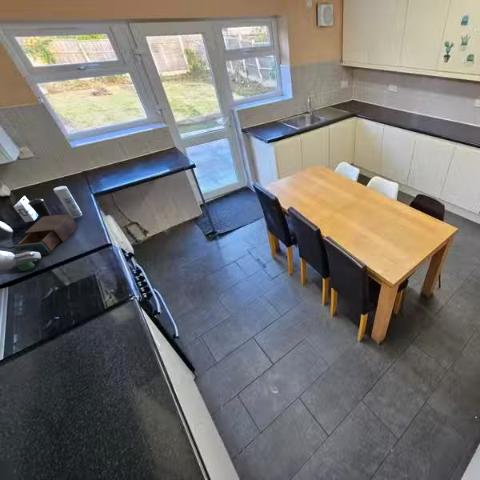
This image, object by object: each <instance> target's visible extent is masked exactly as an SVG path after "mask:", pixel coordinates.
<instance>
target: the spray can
mask: <svg viewBox="0 0 480 480" xmlns="http://www.w3.org/2000/svg"><path fill="white" fill-rule="evenodd" d="M53 191H54V194H55V195H56V196H57V197H58V199H59V201H60V202H61V204H62V205H63V208H64V209H65V210H66V212H67V214H70V215H71V217H72V218H73V219H76V218H80V217H81V216H83V212H82V211H81V209H80V207H79V205H78V203H77V202H76V200H75V199H74V197H73V195H72V194H71V191H70V190H69V189H68V186H66V185H59V186H57V187H55V188H53Z"/></svg>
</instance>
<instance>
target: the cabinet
mask: <svg viewBox="0 0 480 480" xmlns="http://www.w3.org/2000/svg"><path fill="white" fill-rule="evenodd" d="M78 227H79V225H78V224H77V222H76V220H74V218H72V217H71V215H70V214H69V213H64V214H53V215H52V216H43V217H42V218H41V217H40V219H38V220H37V221H36V222H35V223H34V224H33V225H32V226H31V227H29V228H28V229H27V230H26V231H25V232H24V234H25V235H26V236H27V235H28V234H29V233H38V232H47V231H53V232H54V233H55V234H56V235H57V237H58V238H59V239H60V240H61V241H60V242H59V243H58V244H60V243H65V242H66V241H67V240H68V239H69V238H70V237H71V236H72V234H73V233H74V232H75V231H76V230H77V229H78Z"/></svg>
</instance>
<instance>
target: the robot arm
mask: <svg viewBox="0 0 480 480" xmlns="http://www.w3.org/2000/svg"><path fill="white" fill-rule="evenodd" d="M13 234H14V230H13V229H12V227H11V226H9V225H8V224H7V223H6V222H3V221H1V220H0V244H3V243H5V242H8V241H10V240H11V239H12V237H13ZM41 259H42V255H40V253H39V252H24V253H20V254H15V253H13V252H10V251H7V250H6V251H5V250H0V271H7V270H10V269H12V268H14V267H17V265H21V264H24V263H28V262H32V263H34V262H37V261H39V260H41Z"/></svg>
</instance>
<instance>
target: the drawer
mask: <svg viewBox="0 0 480 480" xmlns="http://www.w3.org/2000/svg"><path fill="white" fill-rule="evenodd" d="M60 241H61V240H60V239H59V238H58V237H57V235H56V234H55V233H54V232H53V231H47V232H38V233H29V234H28V235H26V236H25V237H24V238H22V239H21V240H20V241H19V242H18V243H17V244H14V245H13V248H14V250H15V253H14V255H16V254H20V253H24V252H39V253H40V255H41V256H42V255H43V256H45V255H51V254H52V251H53V250H54V249H55V248H56V247H57V246H58V244H60V243H59V242H60Z"/></svg>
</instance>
